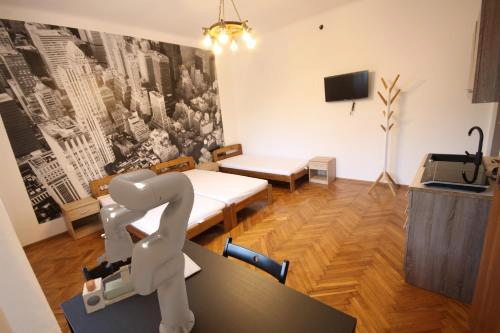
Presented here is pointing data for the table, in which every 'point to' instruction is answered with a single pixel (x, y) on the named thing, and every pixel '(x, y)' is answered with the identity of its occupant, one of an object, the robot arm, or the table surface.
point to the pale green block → (118, 297)
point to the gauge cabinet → (94, 297)
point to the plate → (190, 266)
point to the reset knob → (90, 285)
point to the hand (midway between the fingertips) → (124, 268)
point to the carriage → (119, 284)
